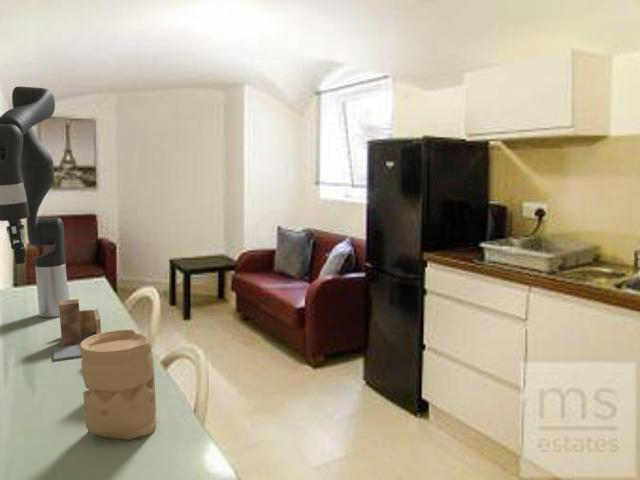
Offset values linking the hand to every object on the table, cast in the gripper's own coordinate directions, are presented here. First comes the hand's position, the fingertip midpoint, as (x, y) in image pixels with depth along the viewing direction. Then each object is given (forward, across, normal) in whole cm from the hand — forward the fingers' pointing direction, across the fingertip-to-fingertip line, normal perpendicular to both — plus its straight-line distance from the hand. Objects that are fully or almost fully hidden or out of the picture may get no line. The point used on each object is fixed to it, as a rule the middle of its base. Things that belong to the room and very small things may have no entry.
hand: (21, 260), depth 140 cm
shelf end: (+26, +1, -12) cm, 29 cm away
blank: (+26, -2, -9) cm, 27 cm away
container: (+24, -62, -15) cm, 68 cm away
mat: (+25, -11, -9) cm, 29 cm away
